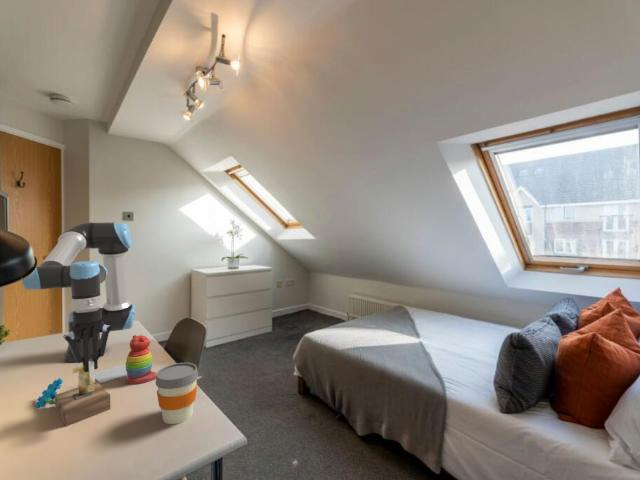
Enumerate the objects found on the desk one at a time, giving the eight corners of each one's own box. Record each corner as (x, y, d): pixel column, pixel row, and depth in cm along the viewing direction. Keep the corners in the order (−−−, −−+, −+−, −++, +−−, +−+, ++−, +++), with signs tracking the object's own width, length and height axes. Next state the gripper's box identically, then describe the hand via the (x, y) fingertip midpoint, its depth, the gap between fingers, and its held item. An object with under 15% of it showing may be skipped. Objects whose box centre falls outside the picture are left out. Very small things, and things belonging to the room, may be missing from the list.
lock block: (55, 409, 105) (54, 394, 105) (97, 394, 115) (97, 380, 114) (65, 426, 96) (65, 409, 96) (110, 409, 106) (110, 393, 105)
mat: (91, 374, 130) (91, 374, 130) (123, 365, 139) (123, 364, 139) (100, 384, 122) (100, 383, 122) (133, 373, 131) (133, 372, 131)
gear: (34, 395, 111) (60, 372, 114) (50, 402, 114) (74, 379, 117) (31, 415, 102) (58, 388, 105) (48, 421, 105) (74, 395, 109)
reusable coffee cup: (205, 414, 103) (205, 370, 102) (166, 433, 93) (165, 384, 93) (188, 400, 111) (187, 359, 110) (150, 416, 102) (149, 371, 101)
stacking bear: (160, 377, 128) (159, 334, 127) (134, 387, 120) (133, 342, 119) (146, 370, 134) (145, 329, 133) (120, 380, 126) (119, 336, 125)
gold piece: (73, 394, 104) (72, 368, 104) (90, 389, 108) (89, 364, 107) (82, 413, 94) (81, 384, 94) (101, 406, 97) (100, 378, 97)
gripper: (65, 316, 94) (69, 392, 95) (113, 307, 104) (117, 375, 105) (59, 312, 98) (63, 384, 100) (106, 303, 108) (109, 369, 110)
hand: (91, 380), depth 102 cm, fingers closed
